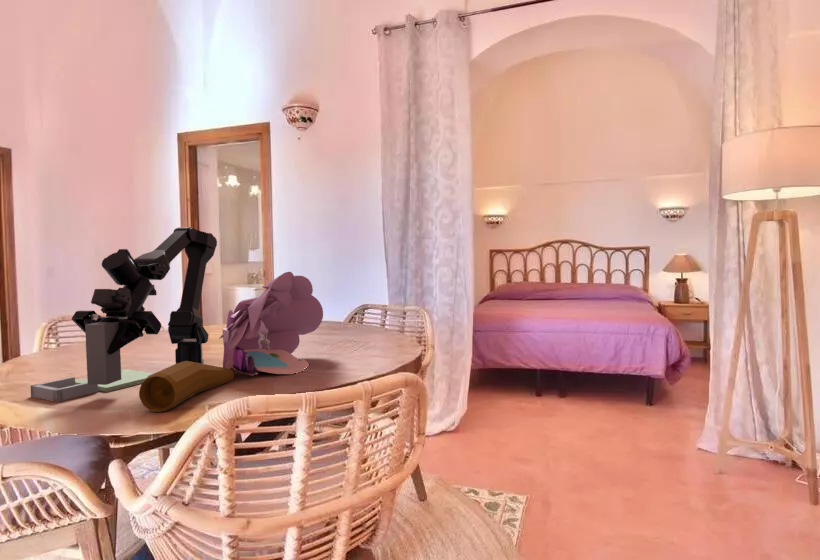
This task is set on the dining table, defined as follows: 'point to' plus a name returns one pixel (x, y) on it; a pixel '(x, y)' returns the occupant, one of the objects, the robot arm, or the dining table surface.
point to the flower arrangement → (271, 327)
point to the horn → (180, 384)
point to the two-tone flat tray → (84, 386)
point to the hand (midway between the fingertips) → (98, 353)
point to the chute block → (102, 353)
